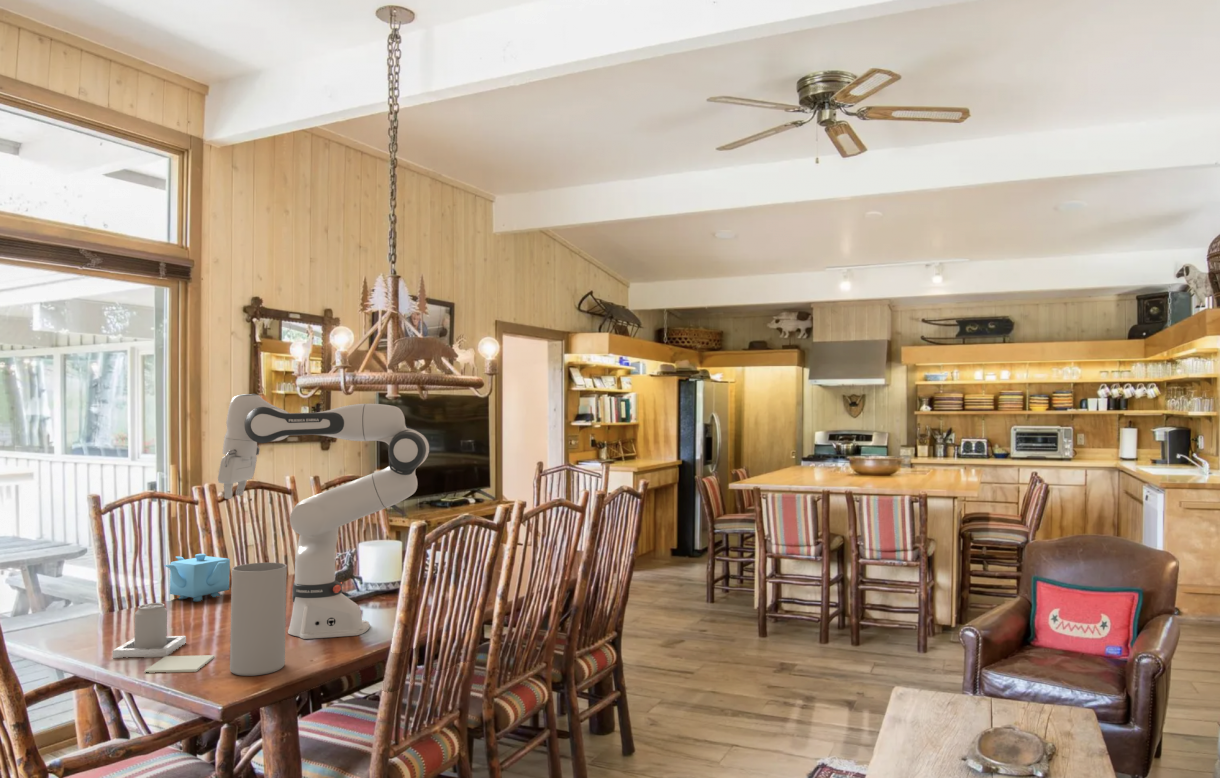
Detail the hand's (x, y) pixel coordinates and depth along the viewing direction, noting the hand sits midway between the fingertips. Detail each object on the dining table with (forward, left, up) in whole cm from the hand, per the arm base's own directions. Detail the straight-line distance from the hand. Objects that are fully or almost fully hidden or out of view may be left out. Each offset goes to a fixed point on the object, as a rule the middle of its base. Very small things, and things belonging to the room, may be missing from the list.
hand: (233, 497), depth 240 cm
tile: (+2, +31, -39) cm, 50 cm away
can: (+15, +17, -39) cm, 45 cm away
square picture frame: (+15, +17, -39) cm, 45 cm away
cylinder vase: (-18, +36, -39) cm, 56 cm away
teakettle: (+27, -48, -39) cm, 67 cm away
